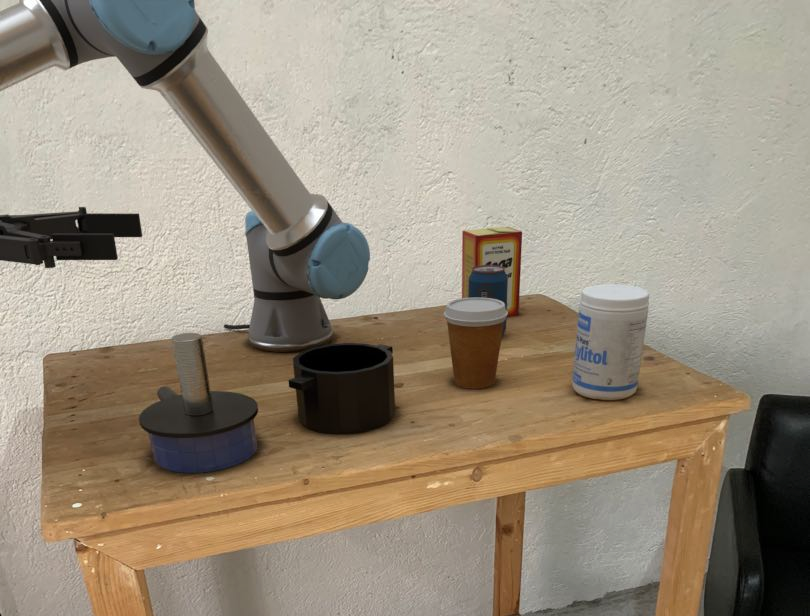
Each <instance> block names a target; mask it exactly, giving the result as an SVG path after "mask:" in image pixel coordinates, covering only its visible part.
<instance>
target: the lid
mask: <svg viewBox="0 0 810 616" xmlns="http://www.w3.org/2000/svg"><path fill="white" fill-rule="evenodd" d="M170 340H171V345H172V350H173V351H172V352H173V356H174V362H175V367H176V373H177V379H178V383H179V390H180V394H178V396H174V397H170V398H167V399H164V400H159V401H156V402H154V403H152V404H150V405H149V406H146V408H144V409H143V410H142V411H141V413H140V414H139V417H138V422H139V423H138V424H139V426H140V427H141V429H142V430H143V431H145V432H146V433H151V434H153V435H157V436H162V437H169V438H195V437H204V436H211V435H216V434H220V433H224V432H228V431H231V430H234V429H236V428H239V427H241V426H243V425H245V424H247V423H249V422H250V421H251V420H253V419H254V420H255V418H256V417H257V415H258V413H259V405H258V403H257V401H256V400H255V399H254V398H253V397H251V396H249V395H247V394H243V393H239V392H234V391H227V390H226V391H223V390H211V386H210V379H209V372H208V367H207V361H206V353H205V347H204V342H203V336H202V334H201V333H198V332H183V333H178V334H176V335H174V336H172V337H171V338H170Z"/></svg>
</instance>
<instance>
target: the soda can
mask: <svg viewBox="0 0 810 616" xmlns="http://www.w3.org/2000/svg"><path fill="white" fill-rule="evenodd" d="M504 270H505V268H504V267H502V266H498V265H480V266H475V267H473V268H472V273H471V275H470V277H469V287H468V298H474V297H479V298H491V299H497V300H500V301H502V302H504V304H505V309H506V311H507V287H508V278H507V275H506V273H505V271H504ZM507 318H508V316H506V319H505V321H504V325H503V331H502V336H503V335H504V334H505V332H506V330H507Z"/></svg>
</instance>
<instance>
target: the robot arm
mask: <svg viewBox="0 0 810 616" xmlns="http://www.w3.org/2000/svg"><path fill="white" fill-rule="evenodd" d="M208 31H209V29H208V26H206V24H205V23H204V21H203V20H202V18H201V17H200V15H199V14H198V12H197V10H196V6H195V0H19V1H18V3H16V4H14V5H11V6H9V7H6V8H4V9H2V10H0V92H2V91H3V90H6V89H9V88H11V87H12V86H15V85H17V84H19V83H21V82H23V81H25V80H28V79H30V78H32V77H34V76H37V75H38V74H41V73H42V72H44V71H47V70H49V69H51V68H53V67H55V68H58V69H59V70H62V71H68V70H70V69H72V68H74V67H77V66H79V65H81V64H83V63H87V62H91V61H94V60H100V59H106V58H116V59H117V60H118V61H119V62H120V63H121V65H122V66H123V67H124V68H125V69H126V71H127V72H128V73H129V74H130V76H131V77H132V79H133V80H134V81H135V82H136V83H137V84H138V86H139V87H140V88H141V89H146V90H151V91H156V92H158V93H159V94H160V95H161V97H162V98H163V99H164V101H165V102H166V103H167V104H168V106H169V107H170V108H171V109H172V110H173V112H174V113H175V114H176V116H177V118H179V119H180V121H181V122H182V123H183V124H184V126H185V127H186V128H187V130H188V131H189V132H190V133H191V135H192V136H193V137H194V139H195V140H196V141H197V143H198V144H199V145H200V146H201V148H202V149H203V150H204V151H205V152H206V154H207V155H208V156H209V158H210V159H211V160H212V162H213V163H214V164H215V165H216V166H217V168H218V169H219V170H220V172H221V173H222V174H223V175H224V177H225V178H226V179H227V180H228V182H229V183H230V184H231V186H232V187H233V188H234V189H235V191H236V192H237V193H238V194H239V196H240V197H241V198H242V200H243V201H244V202H245V203H246V205H247V206H248V207H249V208H250V211H248V212H247V213H246V215H245V217H244V225H245V231H244V235H245V238H246V245H247V252H248V253H247V254H248V260H249V269H250V276H251V284H252V290H253V305H252V311H251V316H250V323H249V324H233V325H232V324H226V323H224V324H223V328H224V329H226V330H247V329H248V341H249V342H248V343H249V345H250V346H251V347H252V348H255V349H257V350H261V351H266V352H278V353H281V352H282V353H285V352H297V351H298V352H299V351H300V352H301V351H305V350H308V349H310V348H313V347H318V346H323V345H327V344H328V343H330V342H331V341H332V339H333V328H332V324H331V322H330V319H329V316H328V315H327V312H326V309H325V307H324V304H323V302H322V299H325V300H342V299H346V298H348V297H350V296H352V294H354V293H356V291H358V289H359V288H360V287H362V285H363V283H364V281H365V279H366V277H367V275H368V272H369V270H370V269H369V263H370V261H371V251H370V246H369V242H368V240H367V237H366V236H365V234H364V233H363V232H362V231H361V230H360V229H359V228H358V227H356V226H354V225H353V224H352V223H349V222H343V221H342V220H341V218H340V217H339V215H338V213H336V211H335V209H334V208H333V206H332V205H331V204H330V202H329V200H327V198H326V197H325V196H324V195H323V194H318V193H311V192H310V191H309V190H308V188H307V186H305V184H304V183H303V182H302V180H301V178H300V177H299V176H298V174H297V173H296V172H295V170H294V169H293V167H292V166H291V164H290V163H289V162H288V160H287V159H286V158H285V156H284V154H283V153H282V152H281V150H280V149H279V147H278V146H277V145H276V143H275V142H274V140H273V139H272V138H271V136H270V134H268V132H267V131H266V129H265V128H264V126H263V125H262V124H261V122H260V121H259V119H258V118H257V116H256V115H255V114H254V112H253V111H252V110H251V108H250V107H249V105H248V103H246V101H245V99H244V98H243V97H242V95H241V94H240V93H239V91H238V90H237V89H236V86H235V85H234V84H233V83H232V81H231V80H230V78H229V77H228V75H227V74H226V73H225V71H224V70H223V69H222V67H221V65H220V64H219V63H218V61H217V60H216V59H215V57H214V56H213V54H212V53H211V52H210V50H209V48H208V36H209V35H208V34H209V33H208ZM87 211H88V210H87V207H86V206H78V210H75V211H61V212H46V213H45V212H44V213H31V214H8V213H7V214H0V261H2V262H12V263H19V264H28V265H35V266H41V265H42V264H44V268H45V269H52V268H53V269H54V268H56V267H57V266H56V261H117V260H118V258H119V257H118V252H117V245H116V239H115V238H142V237H143V231H142V223H141V217H140V213H116V212H115V213H114V212H113V213H106V212H105V213H104V212H103V213H99V212H97V213H91V212H90V213H89V212H87ZM55 260H56V261H55Z"/></svg>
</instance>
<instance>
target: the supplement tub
mask: <svg viewBox="0 0 810 616" xmlns="http://www.w3.org/2000/svg"><path fill="white" fill-rule="evenodd" d="M579 301H580V302H579V308H578V317H577V328H576V337H575V347H574V348H575V349H574V356H573V358H574V359H573V368H572V380H571V385H572V388H573V389H572V390H574V391H575V392H576V393H577V394H578V395H580V396H582V397H585V398H588V399H592V400H602V401H619V400H623V399H627V398H629V397H631V396H633V395H634V394H635V393H636V392H637V390H638V384H639V377H640V371H641V363H642V356H643V349H644V342H645V335H646V329H647V323H648V322H647V321H648V315H649V314H648V313H649V305H650V292H649V290H647V289H645V288H643V287H640V286H636V285H630V284H621V283H602V284H601V283H600V284H594V285H590V286H586V287H585V288H583V289H582V291H581V298H580V300H579Z"/></svg>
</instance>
